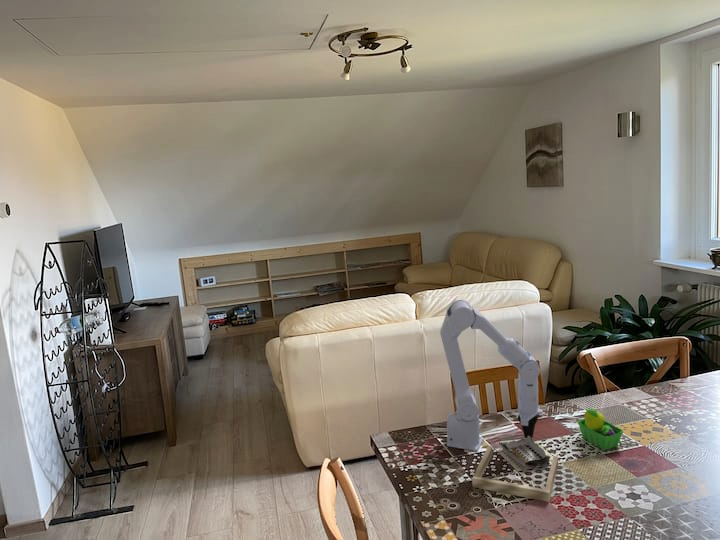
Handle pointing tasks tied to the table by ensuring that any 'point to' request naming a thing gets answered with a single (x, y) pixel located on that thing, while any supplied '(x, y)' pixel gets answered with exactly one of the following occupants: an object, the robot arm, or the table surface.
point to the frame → (511, 487)
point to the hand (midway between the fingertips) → (528, 437)
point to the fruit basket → (599, 430)
